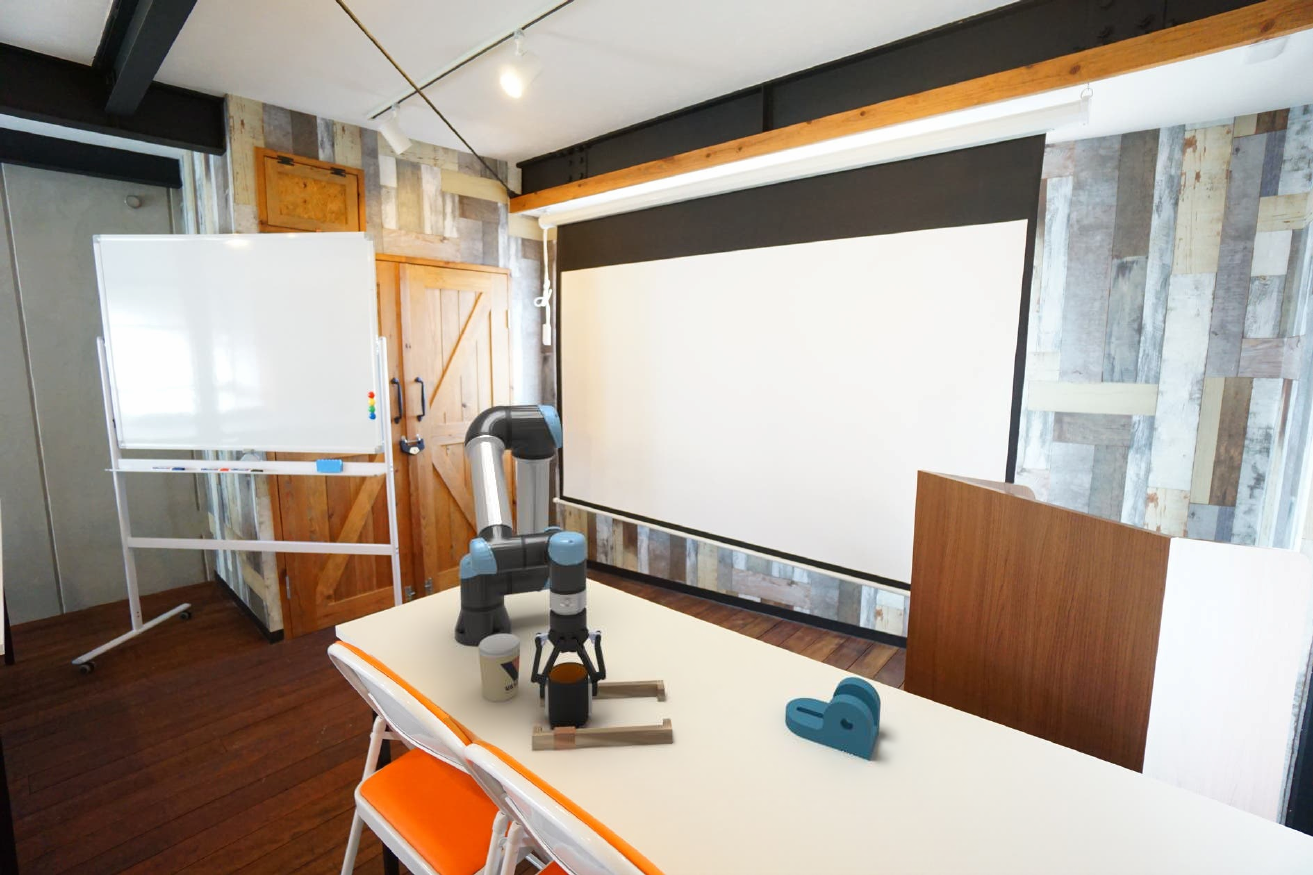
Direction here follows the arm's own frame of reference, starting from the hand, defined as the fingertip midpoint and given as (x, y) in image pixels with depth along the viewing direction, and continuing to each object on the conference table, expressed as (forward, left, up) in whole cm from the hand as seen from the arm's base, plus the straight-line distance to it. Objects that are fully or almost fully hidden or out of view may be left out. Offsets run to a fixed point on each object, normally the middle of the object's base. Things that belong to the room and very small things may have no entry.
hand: (569, 710), depth 120 cm
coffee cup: (-12, -16, -2) cm, 20 cm away
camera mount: (+8, +54, -3) cm, 54 cm away
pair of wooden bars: (0, +7, -2) cm, 8 cm away
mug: (0, +1, -1) cm, 1 cm away
